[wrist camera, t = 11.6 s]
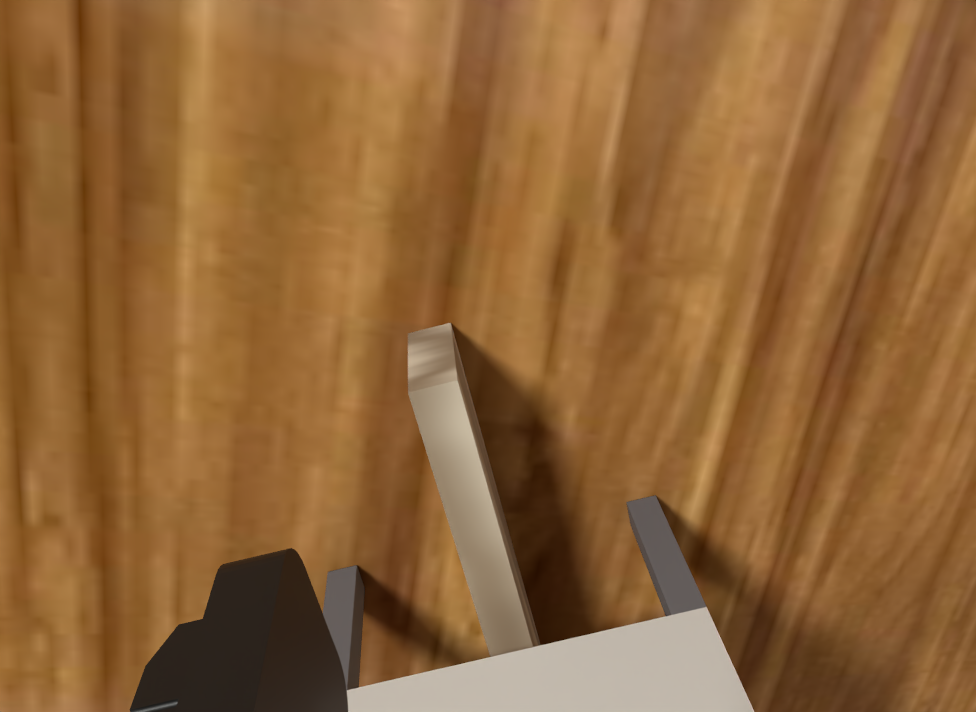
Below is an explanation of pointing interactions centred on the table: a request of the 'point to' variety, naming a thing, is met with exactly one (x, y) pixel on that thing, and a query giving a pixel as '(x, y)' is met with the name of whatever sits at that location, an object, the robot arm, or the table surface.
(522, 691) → the low cabinet
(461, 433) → the pale wooden bar
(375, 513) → the table surface
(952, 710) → the table surface
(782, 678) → the table surface
